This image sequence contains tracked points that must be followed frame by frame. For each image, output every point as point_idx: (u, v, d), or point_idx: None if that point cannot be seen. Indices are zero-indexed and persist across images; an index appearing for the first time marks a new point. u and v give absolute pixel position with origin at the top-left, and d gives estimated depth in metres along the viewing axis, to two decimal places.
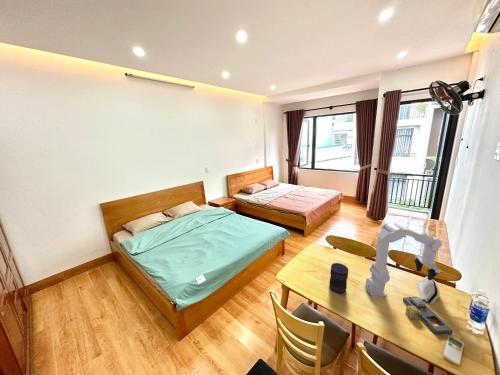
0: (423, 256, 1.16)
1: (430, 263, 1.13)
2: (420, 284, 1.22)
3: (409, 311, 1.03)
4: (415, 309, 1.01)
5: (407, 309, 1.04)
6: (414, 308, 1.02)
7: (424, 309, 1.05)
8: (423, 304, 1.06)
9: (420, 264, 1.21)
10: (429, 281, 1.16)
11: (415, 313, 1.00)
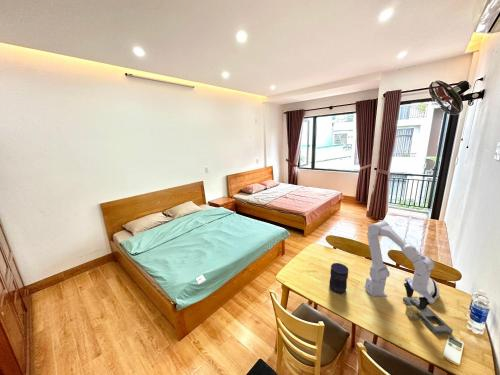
0: (414, 281, 0.98)
1: (422, 290, 0.96)
2: None
3: (409, 311, 1.03)
4: (415, 309, 1.01)
5: (407, 309, 1.04)
6: (414, 308, 1.02)
7: (424, 309, 1.05)
8: None
9: (411, 289, 1.04)
10: (429, 281, 1.17)
11: (415, 313, 1.00)
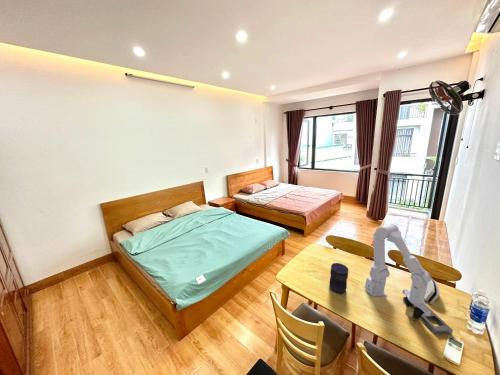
0: (411, 293, 1.00)
1: (419, 302, 0.98)
2: None
3: (409, 311, 1.03)
4: None
5: (407, 308, 1.04)
6: None
7: None
8: None
9: (411, 303, 1.04)
10: None
11: None
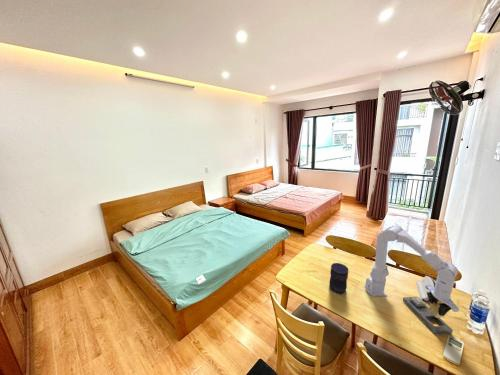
0: (436, 289, 0.94)
1: (445, 298, 0.92)
2: (420, 284, 1.23)
3: (433, 308, 0.96)
4: None
5: (430, 305, 0.98)
6: None
7: (424, 309, 1.05)
8: (423, 304, 1.06)
9: (435, 299, 0.98)
10: (429, 281, 1.17)
11: None
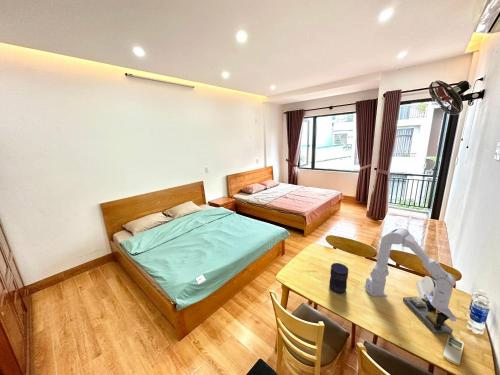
0: (434, 298, 0.95)
1: (443, 307, 0.93)
2: (420, 283, 1.23)
3: (431, 317, 0.98)
4: None
5: (429, 314, 0.99)
6: None
7: (424, 309, 1.05)
8: (423, 304, 1.06)
9: (433, 308, 0.99)
10: (429, 280, 1.17)
11: None
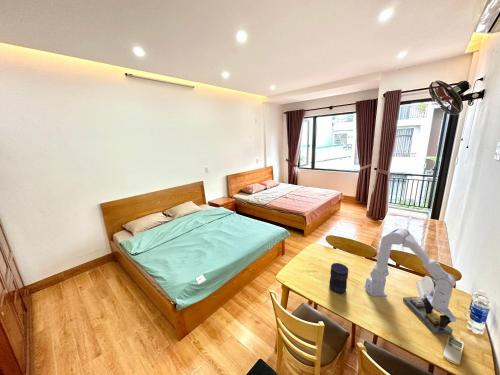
0: (434, 298, 0.95)
1: (443, 308, 0.93)
2: (419, 283, 1.23)
3: (431, 319, 0.98)
4: (437, 317, 0.97)
5: (428, 316, 0.99)
6: (436, 316, 0.97)
7: (424, 309, 1.05)
8: (423, 304, 1.06)
9: (430, 306, 1.00)
10: (429, 280, 1.17)
11: (437, 321, 0.96)
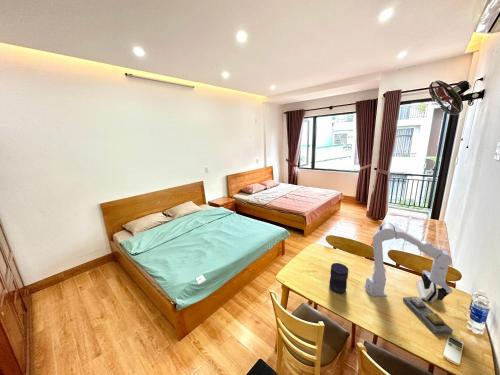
0: (432, 273, 1.02)
1: (440, 281, 1.00)
2: (419, 283, 1.23)
3: (431, 319, 0.98)
4: (437, 317, 0.97)
5: (428, 316, 0.99)
6: (436, 316, 0.97)
7: (424, 309, 1.05)
8: (423, 304, 1.06)
9: (428, 281, 1.07)
10: None
11: (437, 321, 0.96)
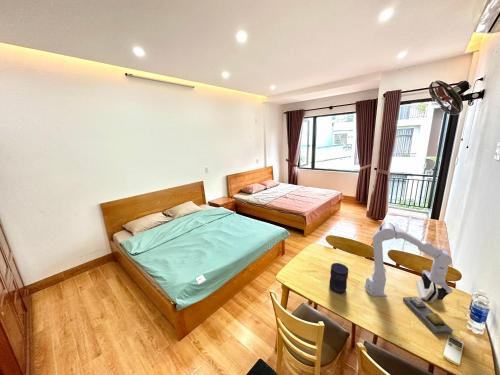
0: (432, 273, 1.02)
1: (440, 281, 1.00)
2: (419, 283, 1.23)
3: (431, 319, 0.98)
4: (437, 317, 0.97)
5: (428, 316, 0.99)
6: (436, 316, 0.97)
7: (424, 309, 1.05)
8: (423, 304, 1.06)
9: (428, 281, 1.08)
10: None
11: (437, 321, 0.96)
